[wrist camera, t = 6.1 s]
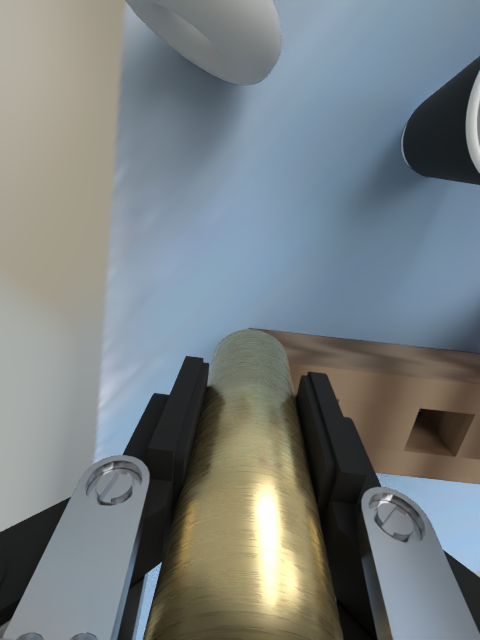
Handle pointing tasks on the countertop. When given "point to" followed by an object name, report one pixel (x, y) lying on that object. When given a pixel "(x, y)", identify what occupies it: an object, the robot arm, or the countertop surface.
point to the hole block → (400, 401)
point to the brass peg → (246, 513)
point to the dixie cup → (447, 130)
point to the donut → (218, 34)
